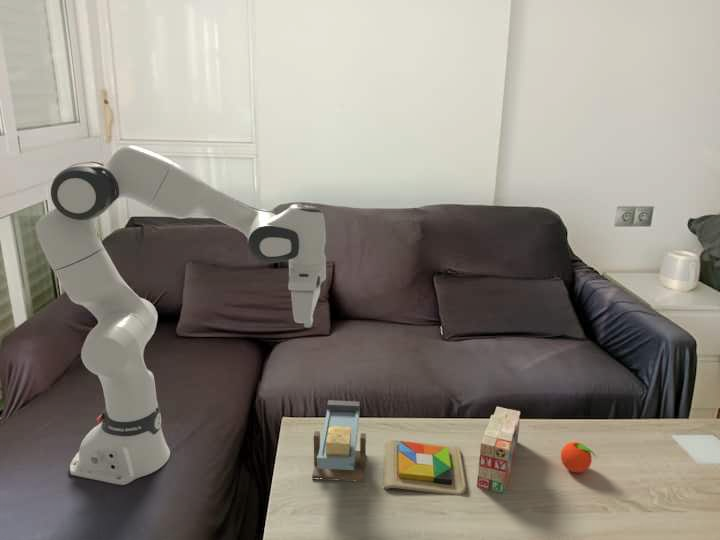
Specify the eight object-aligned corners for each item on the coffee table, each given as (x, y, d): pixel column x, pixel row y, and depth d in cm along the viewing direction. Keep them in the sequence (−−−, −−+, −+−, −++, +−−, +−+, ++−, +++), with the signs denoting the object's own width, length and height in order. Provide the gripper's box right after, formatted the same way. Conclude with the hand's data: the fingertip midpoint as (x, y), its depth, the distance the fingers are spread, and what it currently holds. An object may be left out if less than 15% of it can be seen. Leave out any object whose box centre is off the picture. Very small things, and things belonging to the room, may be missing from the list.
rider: (329, 444, 130) (329, 426, 129) (351, 445, 130) (351, 427, 128) (326, 461, 125) (325, 442, 123) (348, 463, 124) (349, 443, 123)
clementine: (595, 467, 138) (600, 442, 136) (592, 484, 132) (596, 458, 130) (561, 456, 142) (565, 432, 139) (556, 473, 136) (560, 447, 134)
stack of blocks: (493, 436, 150) (497, 395, 146) (517, 442, 147) (522, 401, 143) (476, 487, 131) (480, 442, 127) (503, 495, 129) (509, 449, 125)
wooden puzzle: (466, 497, 128) (467, 484, 127) (382, 492, 129) (383, 480, 128) (458, 449, 145) (459, 437, 144) (384, 445, 146) (384, 434, 145)
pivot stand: (317, 452, 142) (316, 421, 139) (366, 454, 141) (366, 423, 139) (311, 479, 133) (311, 446, 130) (364, 481, 132) (364, 449, 129)
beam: (328, 411, 145) (328, 400, 144) (359, 412, 145) (359, 401, 143) (317, 468, 124) (316, 456, 123) (353, 470, 124) (353, 458, 123)
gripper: (301, 258, 145) (302, 308, 150) (286, 286, 126) (288, 342, 130) (325, 258, 145) (326, 308, 149) (315, 287, 126) (316, 343, 130)
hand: (308, 324), depth 140 cm, fingers closed
